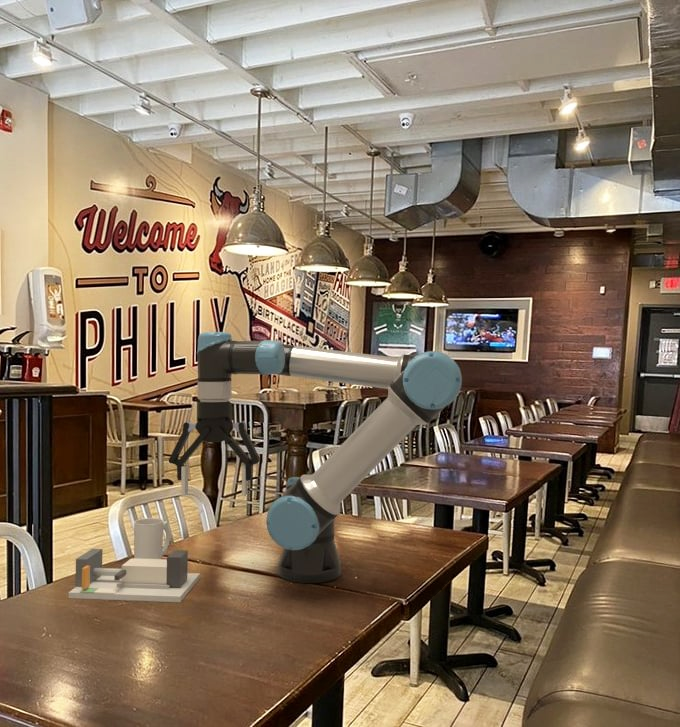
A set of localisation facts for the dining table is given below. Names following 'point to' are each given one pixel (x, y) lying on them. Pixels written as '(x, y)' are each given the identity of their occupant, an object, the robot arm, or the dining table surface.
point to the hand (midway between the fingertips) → (214, 495)
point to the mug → (150, 538)
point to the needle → (85, 577)
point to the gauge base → (123, 584)
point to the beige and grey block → (156, 570)
